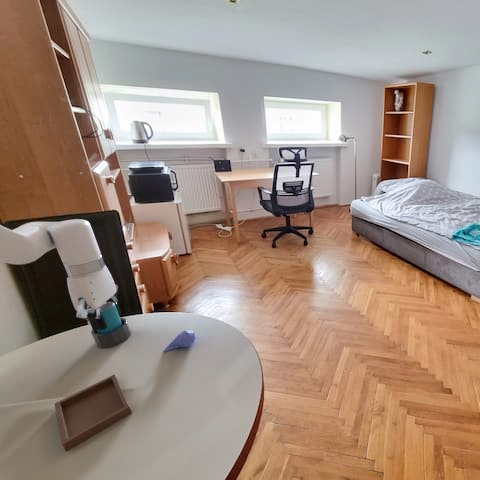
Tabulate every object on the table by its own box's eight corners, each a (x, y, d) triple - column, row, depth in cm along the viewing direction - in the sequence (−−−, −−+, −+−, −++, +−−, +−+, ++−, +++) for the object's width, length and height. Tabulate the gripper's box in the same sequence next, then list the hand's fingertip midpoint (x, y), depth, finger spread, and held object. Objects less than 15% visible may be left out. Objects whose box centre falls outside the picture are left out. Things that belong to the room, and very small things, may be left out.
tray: (57, 409, 64) (54, 403, 63) (117, 380, 71) (114, 374, 70) (66, 451, 55) (62, 444, 55) (132, 412, 63) (129, 406, 62)
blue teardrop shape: (204, 337, 85) (191, 328, 87) (191, 331, 80) (178, 322, 83) (184, 363, 81) (171, 353, 84) (169, 358, 77) (156, 348, 79)
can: (97, 346, 82) (83, 313, 77) (109, 333, 87) (97, 302, 83) (119, 344, 82) (106, 311, 78) (130, 331, 88) (118, 300, 83)
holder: (90, 351, 80) (83, 337, 79) (108, 332, 88) (103, 319, 86) (121, 347, 82) (116, 333, 80) (137, 329, 89) (132, 316, 87)
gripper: (92, 253, 83) (112, 306, 90) (41, 283, 67) (70, 344, 74) (120, 252, 84) (138, 304, 91) (77, 280, 68) (102, 341, 75)
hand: (107, 321), depth 82 cm, fingers closed on can, 5 cm apart
